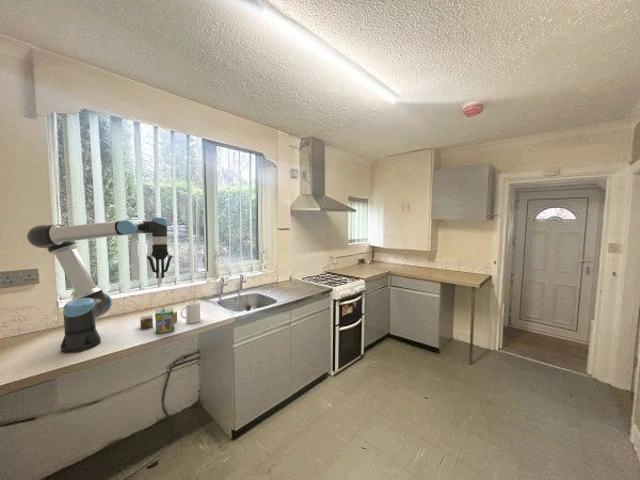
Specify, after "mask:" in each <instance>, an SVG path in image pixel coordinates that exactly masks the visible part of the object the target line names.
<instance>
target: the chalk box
mask: <svg viewBox="0 0 640 480" xmlns="http://www.w3.org/2000/svg"><path fill="white" fill-rule="evenodd" d="M173 312H174V307H173V308H164V305H162V306H161V309H156V310H155V314H154V316H155V317H154V318H155V334H156V335H159V334H164V333H168V332H174V331H175V323H174V316H173Z"/></svg>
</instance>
